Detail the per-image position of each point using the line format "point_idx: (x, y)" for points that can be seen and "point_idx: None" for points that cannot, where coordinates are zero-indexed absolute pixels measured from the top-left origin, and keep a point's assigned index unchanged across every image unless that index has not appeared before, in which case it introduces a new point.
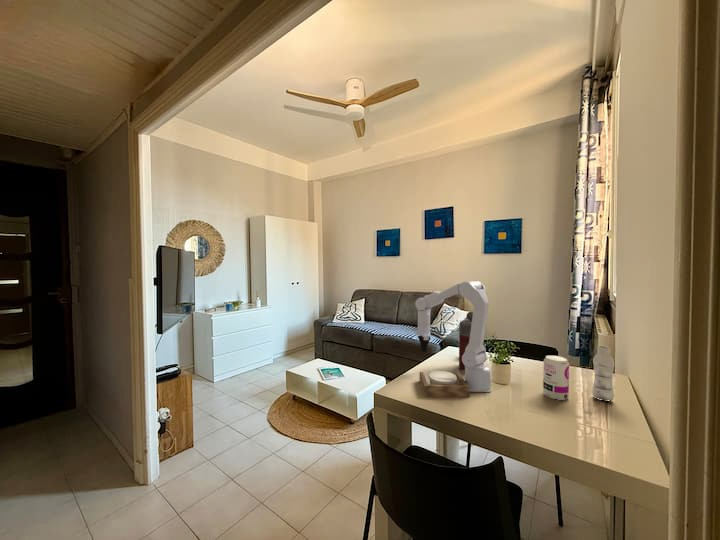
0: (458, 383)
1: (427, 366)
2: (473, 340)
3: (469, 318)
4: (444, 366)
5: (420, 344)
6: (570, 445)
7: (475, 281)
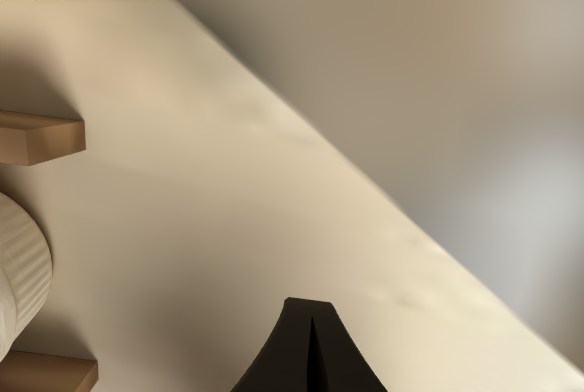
0: (11, 366)
1: (405, 272)
2: None
3: None
4: None
5: (290, 374)
6: None
7: None
